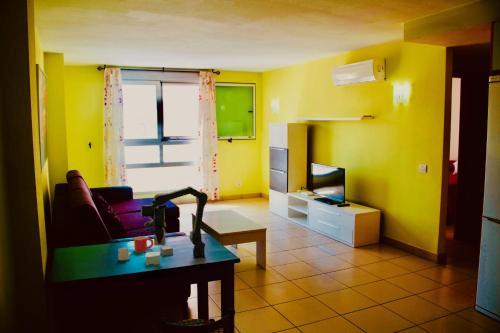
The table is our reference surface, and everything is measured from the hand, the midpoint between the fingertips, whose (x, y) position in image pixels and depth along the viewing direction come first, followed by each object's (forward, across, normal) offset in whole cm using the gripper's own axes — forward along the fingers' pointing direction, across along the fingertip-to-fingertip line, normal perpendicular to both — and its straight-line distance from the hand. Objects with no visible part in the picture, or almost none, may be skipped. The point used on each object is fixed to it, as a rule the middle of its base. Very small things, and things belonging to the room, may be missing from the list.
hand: (159, 242), depth 227 cm
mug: (+12, -25, -12) cm, 30 cm away
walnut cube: (+1, 0, 0) cm, 1 cm away
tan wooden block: (+12, -14, +3) cm, 18 cm away
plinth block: (+12, 0, -4) cm, 13 cm away
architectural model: (+13, -8, -22) cm, 27 cm away
